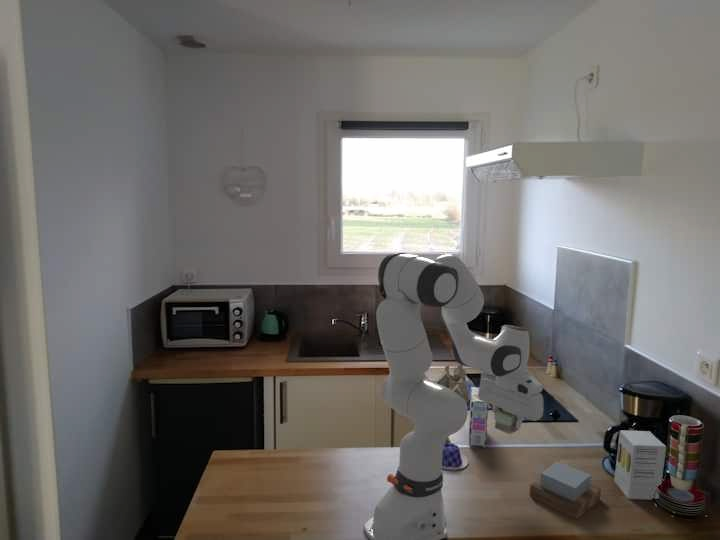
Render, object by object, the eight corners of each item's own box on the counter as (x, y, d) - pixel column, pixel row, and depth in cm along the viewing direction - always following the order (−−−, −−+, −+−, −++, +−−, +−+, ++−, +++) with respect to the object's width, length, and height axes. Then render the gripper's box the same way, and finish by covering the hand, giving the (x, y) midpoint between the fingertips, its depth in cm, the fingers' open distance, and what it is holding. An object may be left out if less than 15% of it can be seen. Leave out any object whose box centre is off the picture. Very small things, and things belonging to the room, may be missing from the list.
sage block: (509, 434, 151) (510, 418, 150) (495, 428, 154) (496, 412, 154) (519, 429, 154) (520, 413, 153) (504, 423, 158) (505, 408, 157)
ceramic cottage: (437, 387, 229) (439, 355, 226) (474, 395, 222) (476, 363, 219) (425, 402, 216) (427, 368, 212) (464, 411, 209) (466, 377, 205)
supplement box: (613, 480, 158) (618, 429, 155) (643, 481, 158) (649, 430, 155) (628, 499, 148) (634, 445, 146) (660, 500, 148) (667, 446, 146)
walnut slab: (576, 521, 139) (577, 507, 139) (529, 497, 150) (530, 484, 149) (599, 501, 148) (601, 488, 148) (554, 480, 159) (555, 468, 158)
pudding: (428, 451, 174) (429, 437, 173) (464, 452, 174) (465, 438, 173) (433, 471, 162) (433, 455, 161) (471, 472, 162) (472, 456, 161)
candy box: (486, 448, 177) (488, 402, 174) (468, 446, 178) (471, 400, 175) (484, 429, 190) (487, 387, 187) (468, 428, 191) (470, 385, 188)
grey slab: (574, 501, 141) (575, 488, 141) (539, 486, 148) (540, 473, 148) (589, 487, 148) (591, 474, 147) (556, 473, 155) (557, 461, 155)
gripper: (475, 371, 158) (472, 414, 160) (536, 392, 142) (532, 439, 144) (487, 367, 162) (484, 409, 164) (548, 387, 146) (543, 433, 148)
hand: (507, 423), depth 154 cm, fingers closed on sage block, 5 cm apart
